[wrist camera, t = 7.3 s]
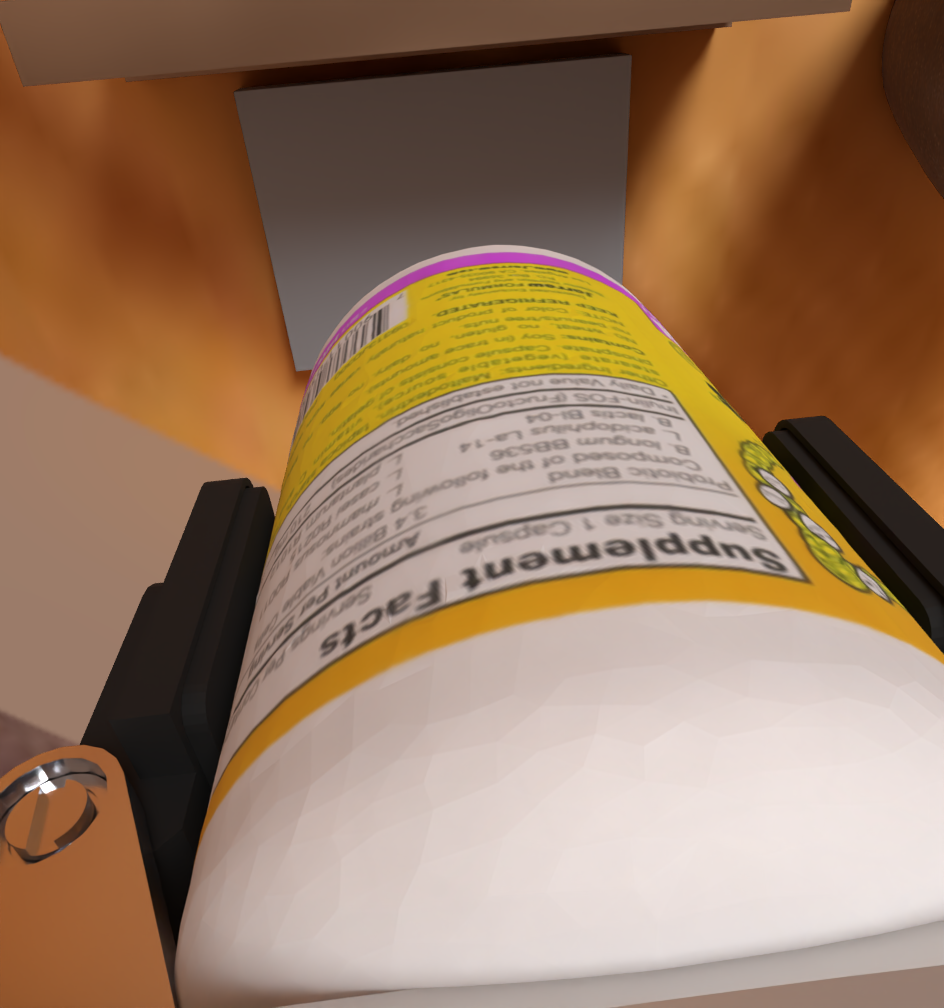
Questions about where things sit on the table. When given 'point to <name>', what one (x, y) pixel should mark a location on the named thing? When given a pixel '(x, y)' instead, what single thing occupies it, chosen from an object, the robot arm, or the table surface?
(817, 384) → the table surface
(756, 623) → the supplement bottle
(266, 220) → the slate mat
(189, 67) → the walnut screen
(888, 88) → the plant pot
